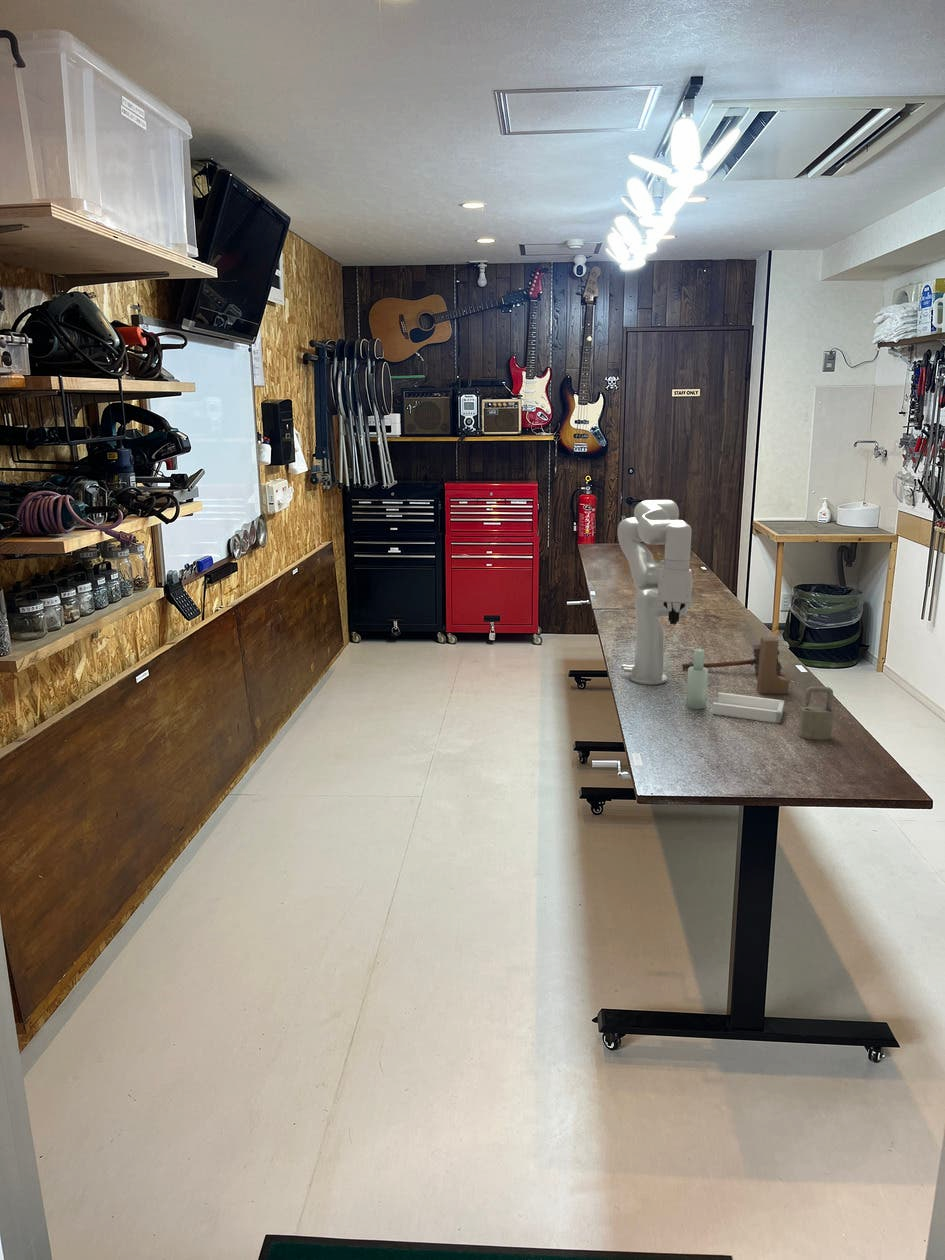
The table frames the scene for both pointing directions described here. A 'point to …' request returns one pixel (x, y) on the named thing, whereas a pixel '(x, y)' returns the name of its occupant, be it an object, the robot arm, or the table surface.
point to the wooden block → (770, 669)
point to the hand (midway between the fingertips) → (673, 623)
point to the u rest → (749, 707)
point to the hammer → (739, 662)
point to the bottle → (697, 682)
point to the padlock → (816, 716)
